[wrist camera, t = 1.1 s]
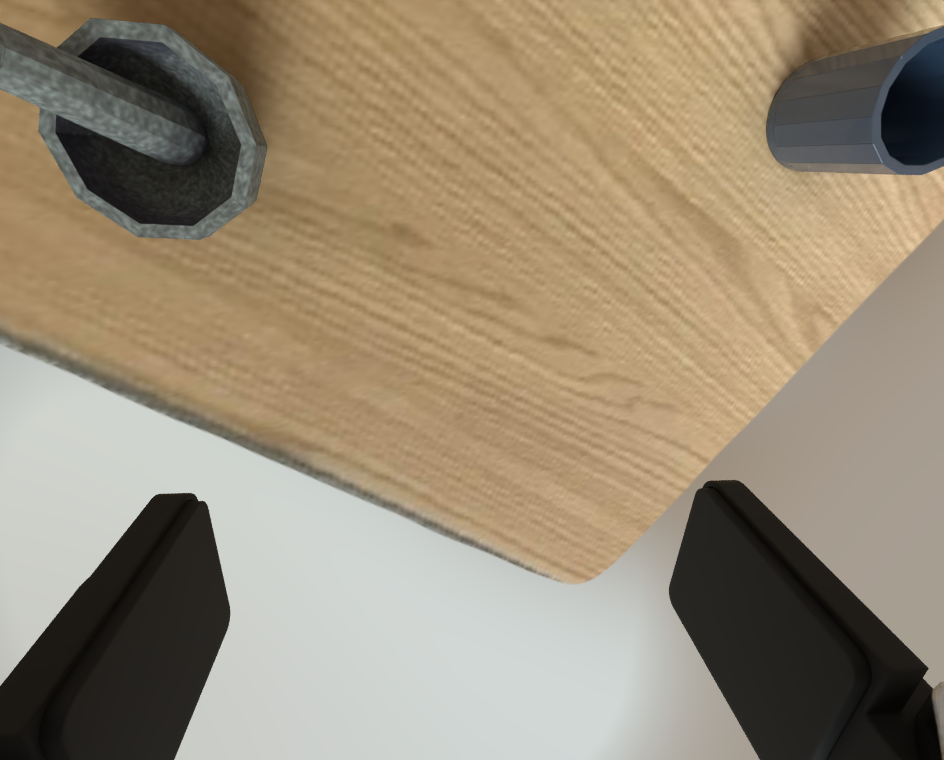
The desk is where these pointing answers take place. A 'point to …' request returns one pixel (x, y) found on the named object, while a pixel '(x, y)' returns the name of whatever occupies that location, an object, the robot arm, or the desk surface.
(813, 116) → the blue cup
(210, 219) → the mortar and pestle
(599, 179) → the desk surface
